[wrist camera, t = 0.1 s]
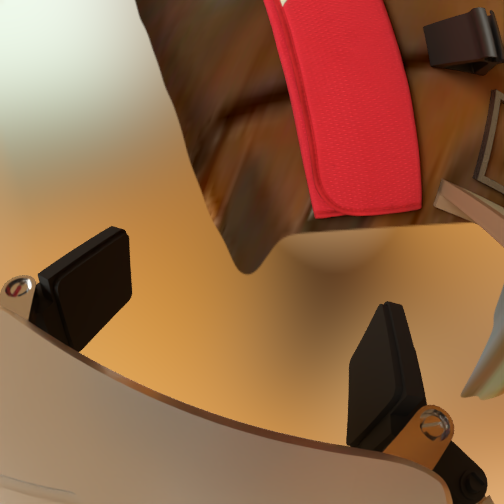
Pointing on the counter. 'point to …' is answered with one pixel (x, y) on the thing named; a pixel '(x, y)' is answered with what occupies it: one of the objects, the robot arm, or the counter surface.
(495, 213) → the tan picture frame
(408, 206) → the dish drying mat
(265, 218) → the counter surface
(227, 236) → the counter surface
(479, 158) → the grey flat square frame
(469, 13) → the phone stand
